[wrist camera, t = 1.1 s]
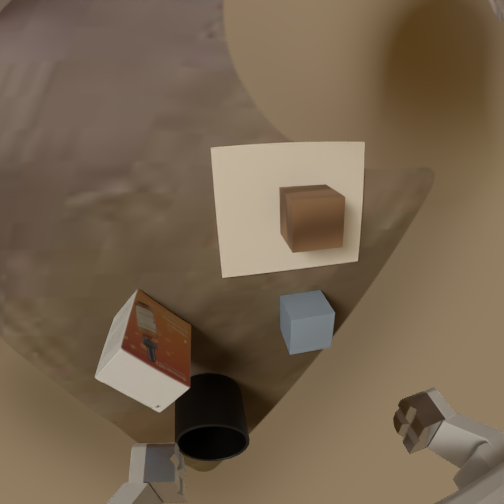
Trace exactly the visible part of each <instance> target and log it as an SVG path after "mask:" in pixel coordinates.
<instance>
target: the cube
mask: <svg viewBox="0 0 504 504" xmlns="http://www.w3.org/2000/svg"><path fill="white" fill-rule="evenodd" d="M280 319H281V332H282V334H283V337H284V340H285V342H286V345H287V348H288V351H289V353H290V355H291V354H297V353H303V352H308V351H314V350H319V349H324V348H329V347H331V344H332V336H333V327H334V319H335V312H334V310H333V309H332V307H331V306H330V304H329V303H328V301H327V299H326V298H325V296H324V295H323V293H322V292H321V290H319V291H312V292H305V293H298V294H291V295H283V296H280Z"/></svg>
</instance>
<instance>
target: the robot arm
mask: <svg viewBox="0 0 504 504" xmlns="http://www.w3.org/2000/svg"><path fill="white" fill-rule="evenodd" d="M398 406H399V409H398V411H396V413H395V415H394V418H393V420H394V427H395V429H396V431H397V433H398V434H399V435H401V436H403V444H404V445H405V447H406V449H407V451H408V452H409V454H411V453H414V452H416V451H419V450H421V449H424V448H426V447H428V449H429V450H431V451H433V452H434V453H436V454H437V455H439V456H441V457H442V458H444V459H446V460H447V461H449V462H451V463H452V464H454V465H456V466H457V467H459V468H461V469H460V470H459V471H458V472H457V474H456V475H455V476H454V478H453V480H454V482H455V484H456V485H457V487H458V489H459V490H458V491H456V492H455V493H453V494H451V495H449V496H447V497H446V498H444V499H442V500H440V501H438V502H436V503H434V504H504V433H503V432H502V431H500V430H498V429H495V428H493V427H490V426H488V425H486V424H483V423H481V422H478V421H476V420H473V419H471V418H469V417H466V416H464V415H462V414H459V413H458V414H455V412H454V411H453V410H452V408H451V407H450V406H449V404H448V403H447V402H446V400H445V399H444V398H443V397H442V395H441V394H440V393H439V391H438V390H437V389H435V388H431V389H428V390H426V391H423V392H420V393H417V394H415V395H412V396H409V397H407V398H404V399H402V400H401V401H400V402H399V404H398ZM185 477H186V470H185V463H184V459H183V456H182V454H181V453H179V447H178V445H177V443H153V444H149V443H135V444H133V447H132V452H131V462H130V473H129V482H125V483H124V484H123V485H122V486H121V487H120V488H119V490H118V491H117V492H116V493H115V494H114V495H113V496H112V498H111V499H110V500H109V501H108V502H107V503H106V504H163V503H184V502H187V489H186V486H185V484H184V482H183V480H184V479H185Z"/></svg>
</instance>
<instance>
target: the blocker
mask: <svg viewBox="0 0 504 504" xmlns="http://www.w3.org/2000/svg"><path fill="white" fill-rule="evenodd" d="M279 196H280V234H281V235H282V237H283V238H284V240H285V242H286V243H287V245H288V246H289V248H290V249H291V251H292V252H293V253H297V252H305V251H314V250H323V249H332V248H340V247H343V233H344V214H345V196H343V195H342V194H340V193H339V192H337V191H335V190H334V189H332V188H331V187H329V186H327V185H326V184H324V185H307V186H291V187H279Z"/></svg>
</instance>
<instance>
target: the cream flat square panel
mask: <svg viewBox="0 0 504 504" xmlns="http://www.w3.org/2000/svg"><path fill="white" fill-rule="evenodd" d="M364 147H365V142H287V143H266V144H249V145H235V146H223V147H211V158H212V171H213V183H214V195H215V206H216V217H217V228H218V238H219V248H220V258H221V268H222V277H223V278H227V277H235V276H244V275H252V274H261V273H269V272H277V271H286V270H294V269H302V268H310V267H317V266H325V265H333V264H340V263H348V262H355V261H358V255H359V244H360V232H361V219H362V203H363V183H364V151H365V150H364V149H365V148H364ZM324 184H326V185H327V186H329V187H331V188H332V189H334V190H335V191H337V192H339V193H340V194H342V195H343V196H345V214H344V233H343V247H340V248H332V249H323V250H314V251H305V252H297V253H293V252H292V251H291V249H290V248H289V246H288V245H287V243H286V242H285V240H284V238H283V237H282V235H281V234H280V196H279V187H291V186H307V185H324Z"/></svg>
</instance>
